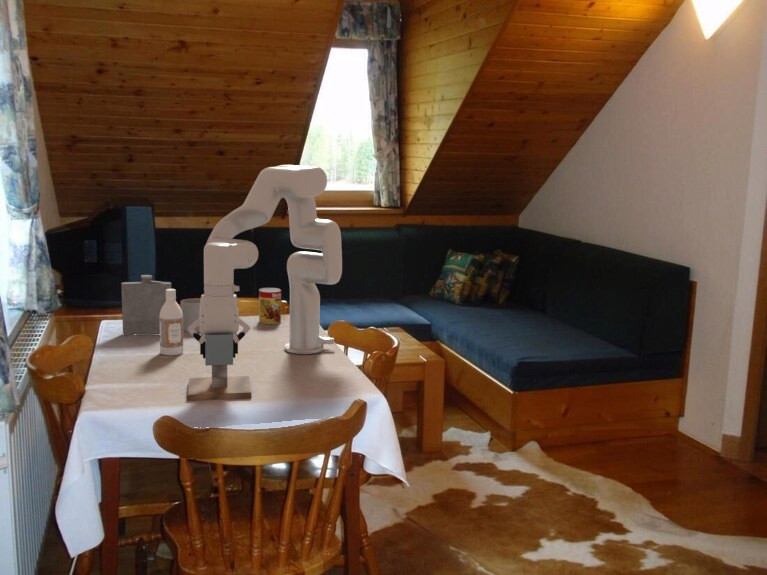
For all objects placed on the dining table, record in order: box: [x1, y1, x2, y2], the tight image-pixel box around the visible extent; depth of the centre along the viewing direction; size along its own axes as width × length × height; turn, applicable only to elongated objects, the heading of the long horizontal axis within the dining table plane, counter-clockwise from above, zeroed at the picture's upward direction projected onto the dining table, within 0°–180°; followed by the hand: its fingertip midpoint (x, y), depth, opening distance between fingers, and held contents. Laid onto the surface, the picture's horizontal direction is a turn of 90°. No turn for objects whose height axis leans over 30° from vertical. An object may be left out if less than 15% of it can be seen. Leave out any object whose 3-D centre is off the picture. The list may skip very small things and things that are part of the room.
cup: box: [180, 298, 201, 333], centre depth 265 cm, size 8×8×10 cm
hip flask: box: [121, 274, 172, 336], centre depth 256 cm, size 16×4×20 cm, turn 102°
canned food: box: [258, 287, 282, 325], centre depth 280 cm, size 8×8×12 cm
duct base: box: [187, 365, 252, 401], centre depth 202 cm, size 16×14×8 cm
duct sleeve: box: [205, 333, 234, 367], centre depth 200 cm, size 7×7×8 cm
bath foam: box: [159, 288, 184, 357], centre depth 234 cm, size 7×7×20 cm
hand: (219, 356), depth 201 cm, fingers closed on duct sleeve, 7 cm apart
